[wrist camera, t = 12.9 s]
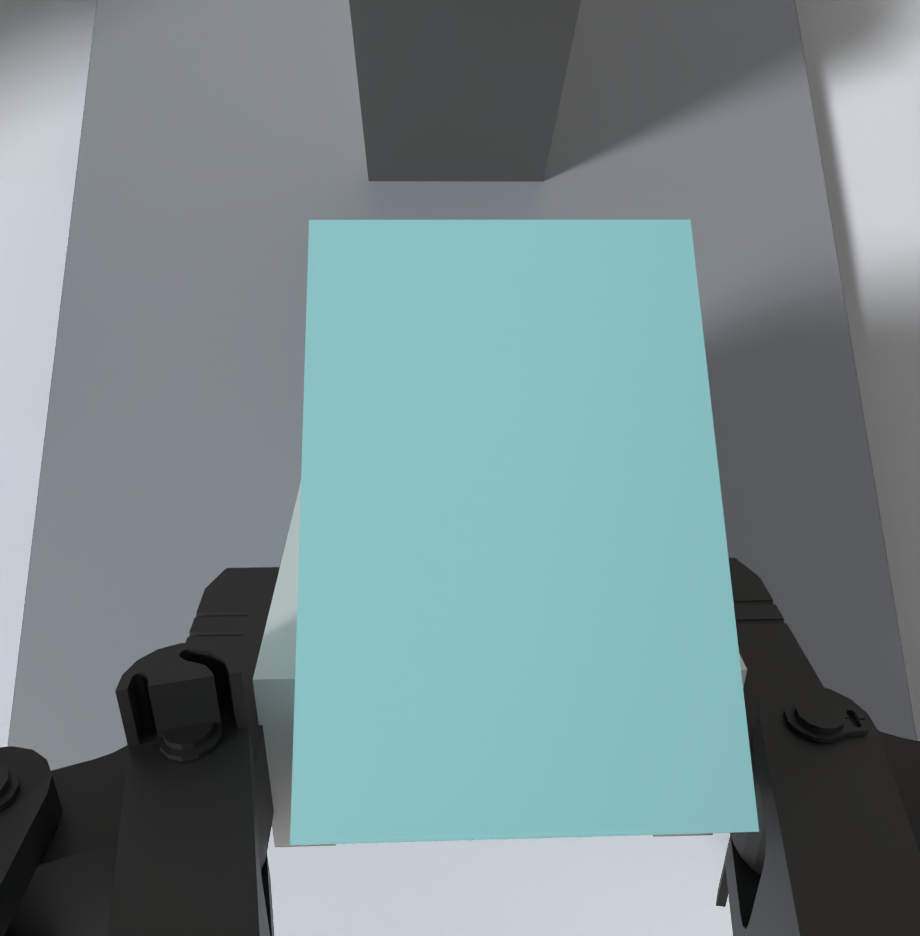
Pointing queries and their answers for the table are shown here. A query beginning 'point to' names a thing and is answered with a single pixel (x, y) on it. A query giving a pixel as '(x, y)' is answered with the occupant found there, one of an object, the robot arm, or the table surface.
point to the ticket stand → (420, 198)
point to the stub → (511, 539)
